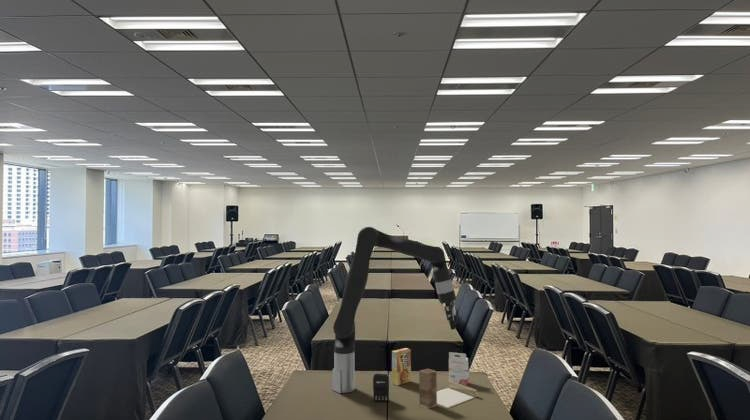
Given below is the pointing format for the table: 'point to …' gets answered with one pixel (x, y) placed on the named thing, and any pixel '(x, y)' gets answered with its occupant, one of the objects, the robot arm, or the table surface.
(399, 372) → the candy box
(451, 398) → the felt mat
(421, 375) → the brown block
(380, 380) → the battery charger
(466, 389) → the birch lip
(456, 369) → the ink cartridge box
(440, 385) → the table surface
